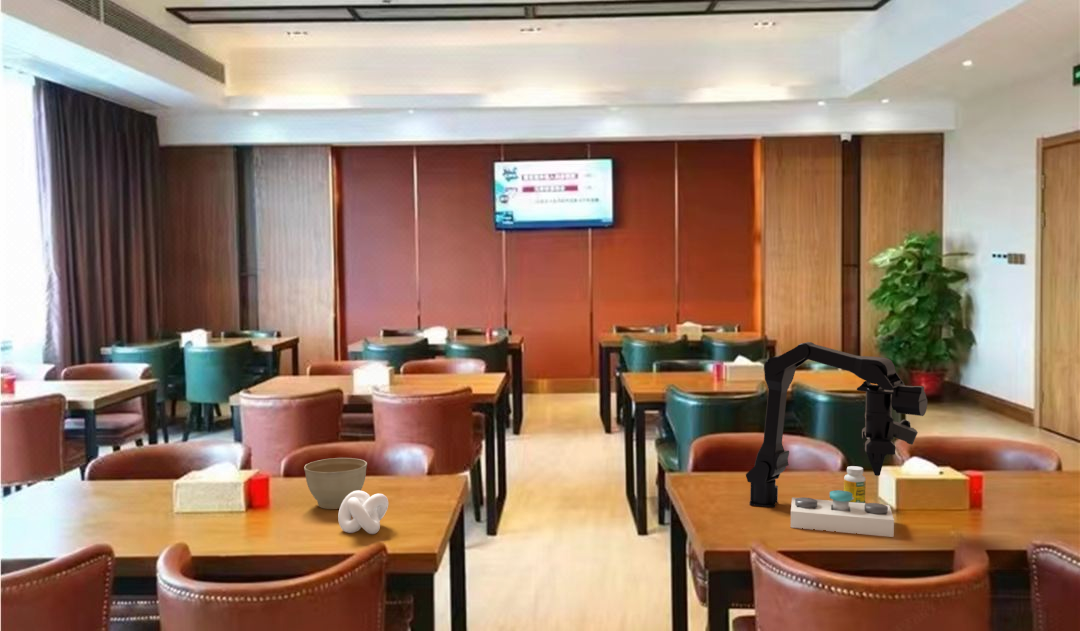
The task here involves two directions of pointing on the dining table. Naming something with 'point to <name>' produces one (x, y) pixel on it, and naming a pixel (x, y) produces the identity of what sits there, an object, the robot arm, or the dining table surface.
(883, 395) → the robot arm
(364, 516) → the white knot sculpture
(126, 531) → the dining table surface
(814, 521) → the knob mount
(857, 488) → the supplement bottle
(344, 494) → the planter bowl
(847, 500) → the middle knob
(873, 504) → the knob
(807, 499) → the knob
